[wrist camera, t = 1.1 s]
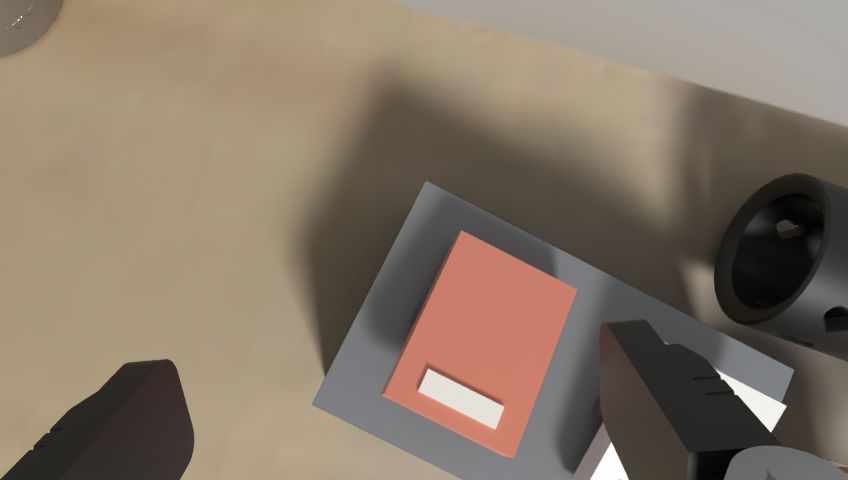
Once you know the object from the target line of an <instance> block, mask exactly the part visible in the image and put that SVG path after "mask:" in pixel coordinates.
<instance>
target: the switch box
mask: <svg viewBox="0 0 848 480" xmlns="http://www.w3.org/2000/svg"><path fill="white" fill-rule="evenodd" d="M461 230H462V231H464V232H466V233H468V234H470V235H472V236H474V237H476V238H478V239H480V240H482V241H484V242H486V243H488V244H490V245H492V246H494V247H495V248H497V249H499V250H501V251H503V252H505V253H507V254H509V255H511V256H513V257H515V258H517V259H519V260H521V261H523V262H525V263H527V264H529V265H531V266H533V267H535V268H537V269H538V270H540V271H542V272H544V273H546V274H548V275H550V276H552V277H554V278H556V279H558V280H560V281H562V282H564V283H566V284H568V285H570V286H572V287H574V288H576V289H577V292H576V294H575V297H574V300H573V302H572V305H571V308H570V310H569V313H568V316H567V318H566V321H565V324H564V326H563V329H562V332H561V334H560V337H559V339H558V342H557V345H556V347H555V350H554V353H553V355H552V358H551V361H550V363H549V366H548V369H547V371H546V374H545V377H544V379H543V382H542V385H541V387H540V390H539V393H538V395H537V398H536V401H535V403H534V406H533V409H532V411H531V414H530V417H529V419H528V422H527V425H526V427H525V430H524V433H523V435H522V438H521V440H520V443H519V446H518V448H517V451H516V454H515V456H514V458H510V457H506V456H502V455H500V454H498V453H496V452H494V451H492V450H490V449H488V448H486V447H484V446H482V445H480V444H478V443H476V442H474V441H472V440H470V439H468V438H466V437H464V436H462V435H460V434H458V433H456V432H454V431H452V430H450V429H448V428H446V427H444V426H442V425H440V424H437V423H435V422H433V421H431V420H429V419H427V418H425V417H423V416H421V415H419V414H417V413H415V412H413V411H411V410H409V409H407V408H405V407H403V406H401V405H399V404H397V403H395V402H393V401H391V400H389V399H387V398H385V397H383V396H381V395H380V394H381V392H382V390H383V388H384V386H385V384H386V381H387V379H388V377H389V375H390V373H391V371H392V369H393V367H394V365H395V362H396V360H397V358H398V356H399V354H400V352H401V350H402V348H403V346H404V343H405V341H406V339H407V337H408V335H409V333H410V331H411V329H412V327H413V325H414V322H415V320H416V318H417V316H418V314H419V312H420V310H421V308H422V306H423V303H424V301H425V299H426V297H427V295H428V293H429V291H430V289H431V287H432V284H433V282H434V280H435V278H436V276H437V274H438V272H439V270H440V268H441V265H442V263H443V261H444V259H445V257H446V255H447V253H448V251H449V249H450V246H451V244H452V242H453V240H454V239H455V238H456V236H457V235H458V234H459V233H460V231H461ZM638 319H645V320H646V321H647V322H648V323H649V324H650V325H651V327H652V328H653V329H654V330H655V332H656V333H657V334H658V335H659V337H660V338H661V339H662V340H663V341H664V342H666V343H668V344H681V345H683V346H685V347H687V348H688V349H690V350H692V351H694V352H695V353H697V354H699V355H701V356H703V357H704V358H705V359H706V360H707V361H708V362H709V363H710V364H711V365H712V366H713V367H715V368H717V369H719V370H721V371H723V372H725V373H727V374H729V375H731V376H733V377H735V378H737V379H739V380H741V381H743V382H745V383H747V384H749V385H750V386H752V387H754V388H756V389H758V390H760V391H762V392H764V393H766V394H768V395H769V396H771V397H773V398H774V399H776V400H778V401H779V402H781V403H782V400H783V398H784V395H785V393H786V390H787V388H788V385H789V383H790V380H791V378H792V375H793V373H794V369H792V368H790V367H788V366H786V365H784V364H782V363H780V362H778V361H776V360H774V359H772V358H770V357H768V356H766V355H764V354H762V353H760V352H759V351H757V350H755V349H753V348H751V347H749V346H747V345H745V344H743V343H741V342H739V341H737V340H735V339H733V338H731V337H729V336H727V335H725V334H723V333H722V332H720V331H718V330H716V329H714V328H712V327H710V326H708V325H706V324H704V323H702V322H700V321H698V320H696V319H694V318H692V317H690V316H688V315H687V314H685V313H683V312H681V311H679V310H677V309H675V308H673V307H671V306H669V305H667V304H665V303H663V302H661V301H659V300H657V299H655V298H653V297H651V296H650V295H648V294H646V293H644V292H642V291H640V290H638V289H636V288H634V287H632V286H630V285H628V284H626V283H624V282H622V281H620V280H618V279H616V278H614V277H613V276H611V275H609V274H607V273H605V272H603V271H601V270H599V269H597V268H595V267H593V266H591V265H589V264H587V263H585V262H583V261H581V260H579V259H578V258H576V257H574V256H572V255H570V254H568V253H566V252H564V251H562V250H560V249H558V248H556V247H554V246H552V245H550V244H548V243H546V242H544V241H542V240H541V239H539V238H537V237H535V236H533V235H531V234H529V233H527V232H525V231H523V230H521V229H519V228H517V227H515V226H513V225H511V224H509V223H507V222H505V221H504V220H502V219H500V218H498V217H496V216H494V215H492V214H490V213H488V212H486V211H484V210H482V209H480V208H478V207H476V206H474V205H472V204H470V203H469V202H467V201H465V200H463V199H461V198H459V197H457V196H455V195H453V194H451V193H449V192H447V191H445V190H443V189H441V188H439V187H437V186H435V185H433V184H432V183H430V182H428V181H425V183H424V185H423V187H422V189H421V191H420V193H419V195H418V197H417V199H416V201H415V203H414V205H413V207H412V209H411V211H410V213H409V215H408V217H407V219H406V220H405V222H404V224H403V226H402V228H401V230H400V232H399V234H398V236H397V238H396V240H395V242H394V244H393V246H392V248H391V250H390V252H389V254H388V256H387V258H386V260H385V262H384V264H383V265H382V267H381V269H380V271H379V273H378V275H377V277H376V279H375V281H374V283H373V285H372V287H371V289H370V291H369V293H368V295H367V297H366V299H365V301H364V303H363V305H362V307H361V308H360V310H359V312H358V314H357V316H356V318H355V320H354V322H353V324H352V326H351V328H350V330H349V332H348V334H347V336H346V338H345V340H344V342H343V344H342V346H341V348H340V350H339V352H338V353H337V355H336V357H335V359H334V361H333V363H332V365H331V367H330V369H329V371H328V373H327V375H326V377H325V379H324V381H323V383H322V385H321V387H320V389H319V391H318V393H317V395H316V396H315V398H314V400H313V402H312V404H311V405H313V406H315V407H317V408H320V409H322V410H324V411H326V412H328V413H330V414H332V415H334V416H336V417H338V418H340V419H342V420H344V421H346V422H348V423H350V424H352V425H354V426H356V427H358V428H360V429H362V430H364V431H366V432H368V433H370V434H372V435H374V436H376V437H378V438H380V439H382V440H384V441H386V442H388V443H390V444H392V445H394V446H396V447H398V448H400V449H402V450H404V451H406V452H408V453H410V454H412V455H415V456H417V457H419V458H421V459H423V460H425V461H427V462H429V463H431V464H433V465H435V466H437V467H439V468H441V469H443V470H445V471H447V472H449V473H451V474H453V475H455V476H457V477H459V478H461V479H463V480H571V479H572V477H573V475H574V473H575V472H576V470H577V468H578V466H579V464H580V463H581V461H582V459H583V457H584V455H585V454H586V452H587V450H588V448H589V447H590V445H591V443H592V441H593V439H594V438H595V436H596V434H597V432H598V430H599V429H600V427H601V425H602V423H603V417H602V412H601V406H600V327H601V324H602V323H604V322H615V321H627V320H638Z"/></svg>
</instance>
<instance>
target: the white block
mask: <svg viewBox="0 0 848 480" xmlns="http://www.w3.org/2000/svg"><path fill="white" fill-rule="evenodd" d="M663 342H664V341H663ZM664 343H665V344H666V345H667V344H668V343H666V342H664ZM713 368H714V369H715V370H716V371H717V372H718V373H719V374H720V376H721V379H724V380H725V381H726V382H727V383H728V385H729V386H730V387H731V388H732V389H733V390H734V394H735V395H738V396H739V397H740V398H741V399H742V400H743V402H744V403H745V404H746V405H747V406H748V407H749V408H750V409H751V411H752V412H753V413H754V414H755V415H756V416H757V417H758V418H759V420H760V421H761V422H762V423H763V424H764V425H765V426H766V428H767V429H768V430H769V431H770V432H772V430H773V429H774V427H775V425H776V423H777V422H778V420H779V418H780V417H781V415H782V413H783V412H784V410H785V408H786V405H784V404H783V403H781V402H779V401H778V400H776V399H774V398H773V397H771V396H769V395H768V394H766V393H764V392H762V391H760V390H758V389H756V388H754V387H752V386H750V385H749V384H747V383H745V382H743V381H741V380H739V379H737V378H735V377H733V376H731V375H729V374H727V373H725V372H723V371H721V370H719V369H717V368H715V367H713ZM571 480H629V479H628V477H627V475H626V473H625V470H624V468H623V466H622V464H621V462H620V459H619V457H618V455H617V453H616V451H615V449H614V446H613V444H612V442H611V440H610V438H609V436H608V433H607V431H606V428H605V425H604V422H603V423H602V425H601V427H600V429H599V430H598V432H597V434H596V436H595V438H594V439H593V441H592V443H591V445H590V447H589V448H588V450H587V452H586V454H585V455H584V457H583V459H582V461H581V463H580V464H579V466H578V468H577V470H576V472H575V473H574V475H573V477H572V479H571Z"/></svg>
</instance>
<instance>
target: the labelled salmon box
mask: <svg viewBox="0 0 848 480" xmlns="http://www.w3.org/2000/svg"><path fill="white" fill-rule="evenodd" d="M576 292H577V289H576V288H574V287H572V286H570V285H568V284H566V283H564V282H562V281H560V280H558V279H556V278H554V277H552V276H550V275H548V274H546V273H544V272H542V271H540V270H538V269H537V268H535V267H533V266H531V265H529V264H527V263H525V262H523V261H521V260H519V259H517V258H515V257H513V256H511V255H509V254H507V253H505V252H503V251H501V250H499V249H497V248H495V247H494V246H492V245H490V244H488V243H486V242H484V241H482V240H480V239H478V238H476V237H474V236H472V235H470V234H468V233H466V232H464V231H462V230H461V231H460V233H459V234H458V235H457V236H456V238H455V239H454V240H453V242H452V244H451V246H450V249H449V251H448V253H447V255H446V257H445V259H444V261H443V263H442V265H441V268H440V270H439V272H438V274H437V276H436V278H435V280H434V282H433V284H432V287H431V289H430V291H429V293H428V295H427V297H426V299H425V301H424V303H423V306H422V308H421V310H420V312H419V314H418V316H417V318H416V320H415V322H414V325H413V327H412V329H411V331H410V333H409V335H408V337H407V339H406V341H405V343H404V346H403V348H402V350H401V352H400V354H399V356H398V358H397V360H396V362H395V365H394V367H393V369H392V371H391V373H390V375H389V377H388V379H387V381H386V384H385V386H384V388H383V390H382V392H381V394H380V395H381V396H383V397H385V398H387V399H389V400H391V401H393V402H395V403H397V404H399V405H401V406H403V407H405V408H407V409H409V410H411V411H413V412H415V413H417V414H419V415H421V416H423V417H425V418H427V419H429V420H431V421H433V422H435V423H437V424H440V425H442V426H444V427H446V428H448V429H450V430H452V431H454V432H456V433H458V434H460V435H462V436H464V437H466V438H468V439H470V440H472V441H474V442H476V443H478V444H480V445H482V446H484V447H486V448H488V449H490V450H492V451H494V452H496V453H498V454H500V455H502V456H506V457H510V458H514V456H515V454H516V451H517V448H518V446H519V443H520V440H521V438H522V435H523V433H524V430H525V427H526V425H527V422H528V419H529V417H530V414H531V411H532V409H533V406H534V403H535V401H536V398H537V395H538V393H539V390H540V387H541V385H542V382H543V379H544V377H545V374H546V371H547V369H548V366H549V363H550V361H551V358H552V355H553V353H554V350H555V347H556V345H557V342H558V339H559V337H560V334H561V332H562V329H563V326H564V324H565V321H566V318H567V316H568V313H569V310H570V308H571V305H572V302H573V300H574V297H575V294H576Z"/></svg>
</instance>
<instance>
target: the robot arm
mask: <svg viewBox="0 0 848 480" xmlns="http://www.w3.org/2000/svg"><path fill="white" fill-rule="evenodd" d="M61 4H62V0H0V57H1V56H4V55H8V54H11V53H14V52H17V51H19V50H21V49H23V48H25V47H26V46H28V45H30V44H32V43H33V42H34V41H36V40H37V39H38V38H39V37H40V36H42V35H43V34H44V33H45V32H46V30H47V29H48V28H49V27H50V25H51V24H52V23H53V22H54V20H55V18H56V16H57V14H58V12H59V10H60V8H61ZM600 406H601V412H602V417H603V422H604V425H605V428H606V431H607V433H608V436H609V438H610V440H611V442H612V444H613V446H614V449H615V451H616V453H617V455H618V457H619V459H620V462H621V464H622V466H623V468H624V470H625V473H626V475H627V477H628V479H629V480H848V475H847V474H846V473H844V472H843V471H842V470H841V469H839V468H838V467H836V466H835V465H833V464H831V463H829V462H828V461H826V460H824V459H822V458H819V457H817V456H815V455H813V454H810V453H807V452H804V451H801V450H797V449H793V448H788V447H783V446H782V444H781V443H780V442H779V441H778V440H777V439H776V438H775V437H774V435H773V434H772V433H771V432H770V431H769V430H768V429H767V428H766V426H765V425H764V424H763V423H762V422H761V421H760V420H759V418H758V417H757V416H756V415H755V414H754V413H753V412H752V411H751V409H750V408H749V407H748V406H747V405H746V404H745V403H744V402H743V400H742V399H741V398H740V397H739V396H738V395H735V394H734V390H733V389H732V388H731V387H730V386H729V385H728V383H727V382H726V381H725V380H724V379H721V376H720V374H719V373H718V372H717V371H716V370H715V369H714V368H713V366H712V365H711V364H710V363H709V362H708V361H707V360H706V359H705V358H704V357H703V356H701V355H699V354H697V353H695V352H694V351H692V350H690V349H688V348H687V347H685V346H683V345H681V344H667V345H666V344H665V343H664V342H663V340H662V339H661V338H660V337H659V335H658V334H657V333H656V332H655V330H654V329H653V328H652V327H651V325H650V324H649V323H648V322H647V321H646V320H645V319H638V320H627V321H615V322H604V323H602V324H601V327H600ZM193 448H194V431H193V426H192V422H191V419H190V415H189V411H188V408H187V404H186V401H185V397H184V393H183V390H182V386H181V382H180V379H179V375H178V372H177V369H176V367H175V365H174V363H173V362H172V361H170V360H168V359H164V360H152V361H140V362H129V363H126V364H124V365H123V366H122V367H121V368H120V369H119V370H118V371H117V372H116V373H115V374H114V375H113V376H112V377H111V378H110V379H109V380H108V381H107V382H106V383H105V384H104V385H103V387H102V388H101V389H100V390H99V391H98V392H96V393H94V394H93V395H91V396H90V397H88V398H87V399H85V400H84V401H82V402H80V403H79V404H77V405H76V406H74V407H73V408H71V409H70V410H69V411H68V412H67V413H66V414H65V415H64V416H63V417H62V418H61V419H60V420H59V421H58V422H57V423H56V424H55V425H54V426H53V427H52V428H51V429H50V433H46V434H45V435H44V436H43V437H42V438H41V439H40V440H39V441H38V442H37V443H36V444H35V445H34V449H33V450H29V451H28V452H27V453H26V454H25V455H24V456H23V457H22V458H21V459H20V460H19V461H18V462H17V463H16V464H15V465H14V466H13V467H12V468H11V469H10V470H9V471H8V472H7V473H6V474H5V475H4V476H3V477H2V478H1V479H0V480H180V478H181V477H182V475H183V473H184V471H185V470H186V468H187V466H188V464H189V462H190V460H191V457H192V454H193Z"/></svg>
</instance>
